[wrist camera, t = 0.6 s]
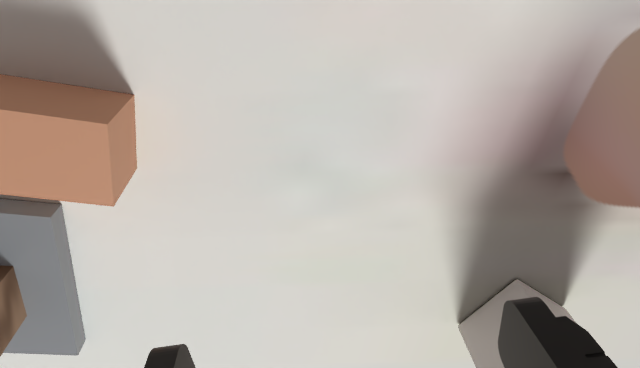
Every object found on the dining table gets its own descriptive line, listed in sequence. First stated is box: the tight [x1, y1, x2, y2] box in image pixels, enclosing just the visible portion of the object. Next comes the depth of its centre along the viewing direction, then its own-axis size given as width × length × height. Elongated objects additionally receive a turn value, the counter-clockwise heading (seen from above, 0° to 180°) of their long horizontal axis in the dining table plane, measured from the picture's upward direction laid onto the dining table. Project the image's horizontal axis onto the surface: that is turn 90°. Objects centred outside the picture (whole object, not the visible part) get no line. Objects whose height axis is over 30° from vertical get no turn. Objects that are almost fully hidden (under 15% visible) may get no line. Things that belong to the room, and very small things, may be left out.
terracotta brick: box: [0, 74, 137, 206], centre depth 23 cm, size 5×8×4 cm, turn 79°
